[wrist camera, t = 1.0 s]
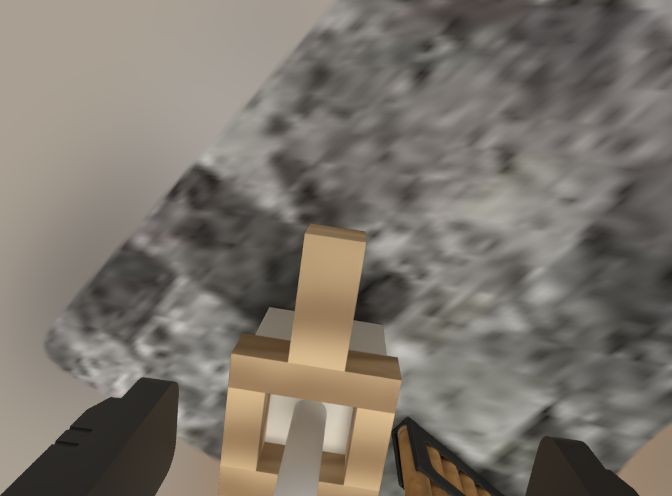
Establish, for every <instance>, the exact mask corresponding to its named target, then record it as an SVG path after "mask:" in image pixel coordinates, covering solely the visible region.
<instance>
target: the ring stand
mask: <svg viewBox="0 0 672 496" xmlns="http://www.w3.org/2000/svg"><path fill="white" fill-rule="evenodd" d="M294 313H295V311H291V310H284V309H278V308H272V307H269V309H268V311H267V313H266V315H265V317H264V319H263V321H262V322H261V324H260V326H259V328H258V330H257V332H256V334H255V335H258V336H264V337H271V338H277V339H283V340H290V341H291V336H292V328H293V320H294ZM348 350H353V351H359V352H366V353H372V354H378V355H385V356H387V355H386V347H385V338H384V330H383V325H380V324H374V323H367V322H361V321H355V320H353V325H352V331H351V337H350V343H349V349H348ZM352 413H353V407H349V406H343V405H337V404H330V403H324V402H318V401H312V400H305V399H299V398H293V397H286V396H280V395H274V394H271V396H270V404H269V412H268V420H267V428H266V436H265V442H269V443H275V444H282V445H285V449H284V453H283V457H282V461H281V465H280V470H279V474H278V478H277V482H276V486H275V490H274V495H273V496H317V492H318V484H319V476H320V467H321V459H322V451H325V452H331V453H337V454H344V455H345V452H346V447H347V441H348V436H349V430H350V424H351V419H352Z"/></svg>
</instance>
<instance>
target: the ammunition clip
mask: <svg viewBox="0 0 672 496" xmlns="http://www.w3.org/2000/svg"><path fill="white" fill-rule="evenodd" d="M391 433H392V439H393V446H394V453H395V460H396V468H397V475H398V482H399V486H400V487H402V488H403V489H404V490H405V496H504V495H503V494H502V493H500V492H499V491H498V490H497V489H496V488H494V487H493V486H492V485H491V484H490V483H488V482H487V481H486V480H485V479H483V478H482V477H481V476H480V475H479V474H477V473H476V472H475V471H474V470H473V469H471V468H470V467H469V466H468V465H467V464H465V463H464V462H463V461H462V460H460V459H459V458H458V457H457V456H456V455H454V454H453V453H452V452H451V451H450V450H448V449H447V448H446V447H445V446H443V445H442V444H441V443H440V442H439V441H437V440H436V439H435V438H434V437H433V436H431V435H430V434H429V433H428V432H426V431H425V430H424V429H423V428H422V427H420V426H419V425H418V424H417V423H416V422H414V421H413V420H412V419H411V418H407V419H405V420H404V421H403V422H402V423H401V424H400V425H399V426H398V427H397V428H396V429H395V430H394V431H392V432H391Z"/></svg>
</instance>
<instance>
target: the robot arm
mask: <svg viewBox="0 0 672 496" xmlns="http://www.w3.org/2000/svg"><path fill="white" fill-rule="evenodd" d="M178 397H179V387H178V384H177V382H173V381H166V380H159V379H152V378H145V377H142V378H140V379H139V380H138V381H137V382H136V383H135V384H134V385H133V386H132V387H131V388H130V390H129V391H128V392H127V393H126V394H125V395H124V396H123V397H122V398H114V397H110V398H108V399H106V400H104V401H103V402H101V403H99V404H97V405H95V406H93V407H91V408H89V409H87V410H86V411H85V412H84V413H83V414H82V415H81V416H80V417H79V418H78V419H77V420H76V421H75V422H74V423H73V424H72V425H71V426H70V429H69V430H66V431H65V432H64V433H63V434H62V435H61V436H60V437H59V438H58V439H57V440H56V442H55V444H54V445H53V444H52V445H51V446H50V447H49V448H48V449H47V450H46V451H45V452H44V453H43V454H42V455H41V456H40V457H39V458H38V459H37V460H36V461H35V462H34V463H33V464H32V465H31V466H30V467H29V468H28V469H26V470H25V472H23V473H22V475H20V476H19V477H18V478H17V479H16V480H15V482H13V483H12V484H11V485H10V486H9V487H8V488H7V489H6V490H5V491H4V492H3V493H2V494H1V495H0V496H155V495H156V493H157V491H158V489H159V488H160V486H161V484H162V482H163V480H164V479H165V477H166V475H167V473H168V471H169V468H170V465H171V463H172V460H173V456H174V451H175V445H176V431H177V414H178ZM525 496H639V495H638V493H637V492H636V491H635V490H634V489H633V488H632V487H630V486H629V485H628V484H627V483H625V482H624V481H623V480H622V479H621V478H619V477H618V476H617V475H616V474H614V473H613V472H612V471H611V470H607V469H605V468H604V466H603V465H602V464H601V462H600V461H599V460H598V459H597V457H596V456H595V455H594V453H593V452H592V451H591V450H590V448H589V447H588V446H587V445H586V444H585V443H584V442H582V441H578V440H571V439H564V438H557V437H550V436H545V437H544V438H542V440H541V441H540V444H539V447H538V450H537V454H536V458H535V461H534V465H533V469H532V473H531V476H530V480H529V484H528V487H527V491H526V495H525Z"/></svg>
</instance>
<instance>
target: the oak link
mask: <svg viewBox="0 0 672 496" xmlns="http://www.w3.org/2000/svg"><path fill="white" fill-rule="evenodd" d="M365 247H366V232H363V231H357V230H350V229H344V228H337V227H331V226H324V225H318V224H311V223H310V225H309V227H308V229H307V231H306V232H305V237H304V244H303V252H302V260H301V267H300V275H299V282H298V290H297V298H296V305H295V313H294V320H293V328H292V336H291V341H290V340H283V339H277V338H271V337H264V336H258V335H252V334H245V333H243V335H242V336H241V338H240V340H239V342H238V343H237V345H236V347H235V348H234V350H233V352H232V353H231V363H230V374H229V384H228V395H227V405H226V415H225V426H224V436H223V446H222V457H221V467H220V478H219V488H218V495H223V496H273V495H274V490H275V486H276V482H277V478H278V474H279V470H280V465H281V461H282V457H283V453H284V449H285V445H282V444H275V443H269V442H265V436H266V428H267V420H268V412H269V404H270V396H271V394H274V395H280V396H286V397H293V398H299V399H305V400H312V401H318V402H324V403H330V404H337V405H343V406H349V407H353V413H352V419H351V424H350V430H349V436H348V441H347V447H346V452H345V455H344V454H337V453H331V452H325V451H322V459H321V467H320V476H319V484H318V492H317V496H378V493H379V489H380V484H381V479H382V474H383V469H384V464H385V459H386V454H387V449H388V444H389V440H390V435H391V430H392V425H393V420H394V415H395V410H396V405H397V400H398V395H399V391H400V386H401V381H402V380H401V374H400V368H399V362H398V358H397V357H391V356H385V355H378V354H372V353H366V352H359V351H353V350H348V349H349V343H350V337H351V331H352V325H353V319H354V313H355V307H356V301H357V295H358V289H359V283H360V277H361V271H362V265H363V259H364V253H365Z"/></svg>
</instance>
